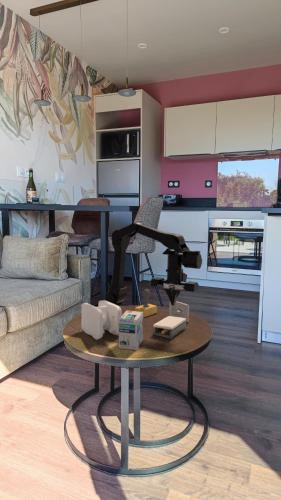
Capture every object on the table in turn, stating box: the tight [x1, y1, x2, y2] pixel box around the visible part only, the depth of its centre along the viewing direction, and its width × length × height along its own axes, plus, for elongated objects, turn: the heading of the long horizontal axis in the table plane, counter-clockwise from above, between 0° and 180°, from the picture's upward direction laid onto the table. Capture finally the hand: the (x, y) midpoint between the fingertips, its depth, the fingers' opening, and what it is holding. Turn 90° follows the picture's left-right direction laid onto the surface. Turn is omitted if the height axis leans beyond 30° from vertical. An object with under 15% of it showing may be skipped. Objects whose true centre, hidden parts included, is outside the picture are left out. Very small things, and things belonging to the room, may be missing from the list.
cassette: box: [168, 300, 190, 323], centre depth 150 cm, size 12×2×8 cm, turn 37°
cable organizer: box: [81, 299, 123, 341], centre depth 128 cm, size 15×11×12 cm
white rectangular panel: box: [152, 315, 186, 330], centre depth 133 cm, size 8×14×1 cm, turn 150°
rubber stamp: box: [134, 288, 158, 318], centre depth 155 cm, size 10×6×12 cm, turn 139°
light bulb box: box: [118, 310, 144, 351], centre depth 118 cm, size 11×7×11 cm, turn 168°
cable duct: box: [152, 321, 187, 340], centre depth 133 cm, size 8×14×3 cm, turn 150°
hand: (173, 305), depth 131 cm, fingers closed
